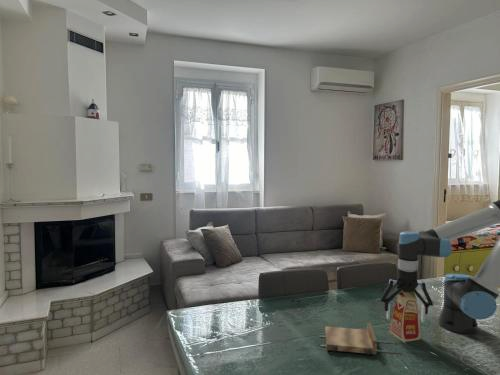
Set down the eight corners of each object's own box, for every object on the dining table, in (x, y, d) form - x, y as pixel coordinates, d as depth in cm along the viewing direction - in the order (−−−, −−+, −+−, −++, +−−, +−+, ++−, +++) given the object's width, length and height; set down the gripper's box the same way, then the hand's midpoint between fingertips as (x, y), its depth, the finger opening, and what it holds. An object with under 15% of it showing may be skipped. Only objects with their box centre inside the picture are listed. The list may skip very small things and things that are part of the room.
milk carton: (403, 341, 147) (404, 292, 146) (388, 331, 156) (390, 285, 155) (422, 339, 150) (424, 291, 148) (407, 329, 158) (408, 284, 157)
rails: (396, 342, 146) (396, 342, 146) (401, 354, 137) (401, 353, 137) (319, 336, 151) (319, 335, 151) (320, 346, 143) (320, 345, 143)
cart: (369, 334, 152) (370, 322, 152) (376, 355, 135) (377, 341, 135) (325, 330, 155) (325, 318, 155) (326, 350, 138) (327, 337, 138)
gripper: (437, 268, 153) (434, 318, 154) (374, 264, 157) (372, 313, 158) (443, 274, 145) (440, 326, 147) (377, 269, 150) (375, 320, 151)
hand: (405, 319), depth 152 cm, fingers open, 13 cm apart
